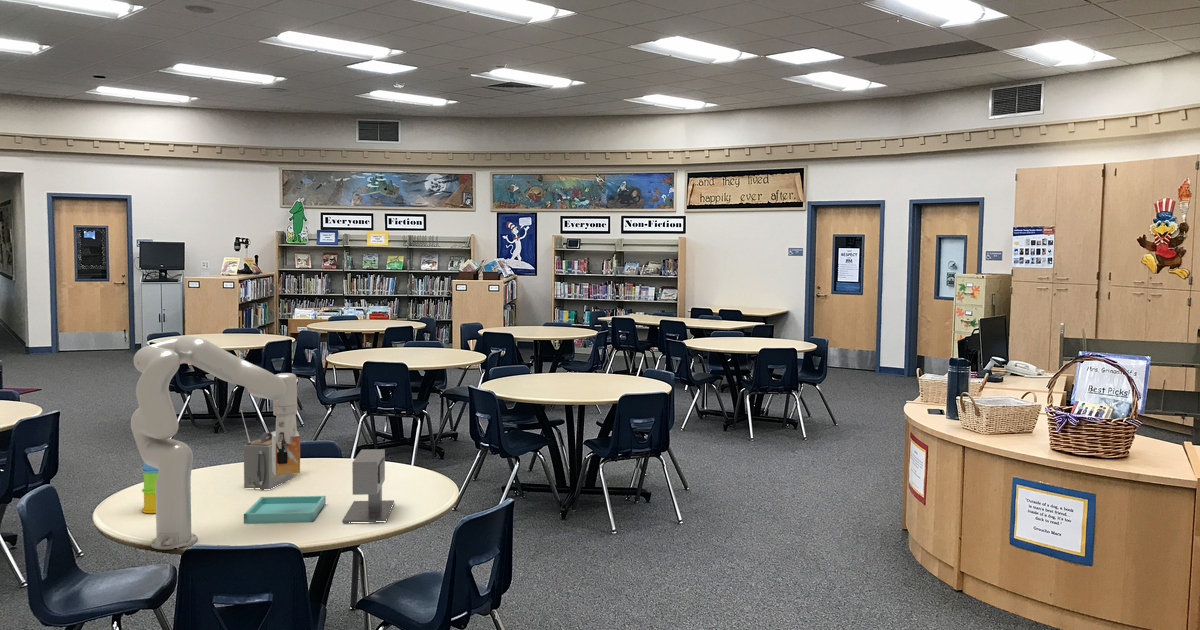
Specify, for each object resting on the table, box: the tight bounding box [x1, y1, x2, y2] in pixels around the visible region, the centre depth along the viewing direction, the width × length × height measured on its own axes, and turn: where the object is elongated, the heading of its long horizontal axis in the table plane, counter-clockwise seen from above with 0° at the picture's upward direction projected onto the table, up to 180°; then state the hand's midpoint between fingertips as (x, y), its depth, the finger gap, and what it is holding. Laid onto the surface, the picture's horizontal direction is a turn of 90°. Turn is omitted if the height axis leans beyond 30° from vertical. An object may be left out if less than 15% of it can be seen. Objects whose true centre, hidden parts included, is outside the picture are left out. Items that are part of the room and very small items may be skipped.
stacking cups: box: [141, 461, 159, 514], centre depth 284 cm, size 10×10×35 cm
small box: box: [272, 433, 301, 475], centre depth 282 cm, size 8×6×13 cm
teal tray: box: [243, 495, 327, 524], centre depth 284 cm, size 20×22×3 cm
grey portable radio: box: [240, 409, 300, 490], centre depth 321 cm, size 12×24×30 cm, turn 172°
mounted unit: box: [341, 448, 395, 524], centre depth 284 cm, size 22×14×20 cm, turn 7°
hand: (285, 460), depth 282 cm, fingers closed on small box, 8 cm apart
